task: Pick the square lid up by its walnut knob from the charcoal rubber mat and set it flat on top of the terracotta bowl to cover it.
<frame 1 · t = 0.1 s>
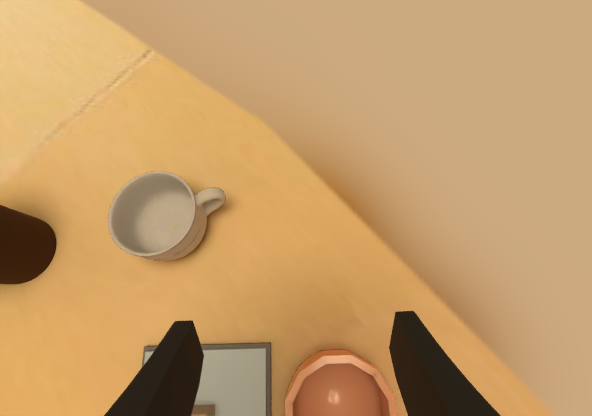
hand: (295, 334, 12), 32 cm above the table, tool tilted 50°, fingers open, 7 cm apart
teacup: (187, 224, 46), on the table
mat: (205, 415, 39), on the table
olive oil: (24, 250, 45), on the table
bowl: (336, 402, 39), on the table
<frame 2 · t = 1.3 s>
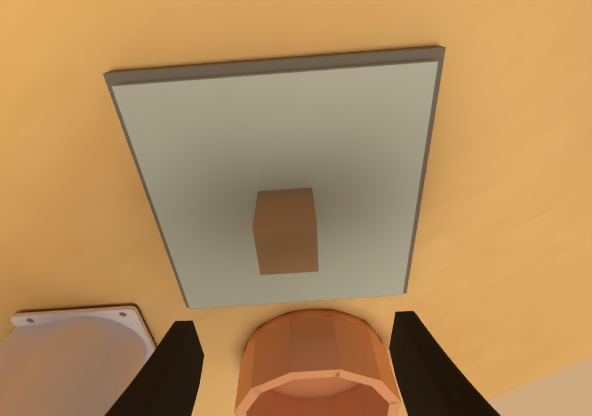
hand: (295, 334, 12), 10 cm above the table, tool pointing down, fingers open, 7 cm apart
mat: (287, 200, 20), on the table
lid: (287, 206, 19), point 1 cm above the table, touching mat
bowl: (313, 356, 28), on the table
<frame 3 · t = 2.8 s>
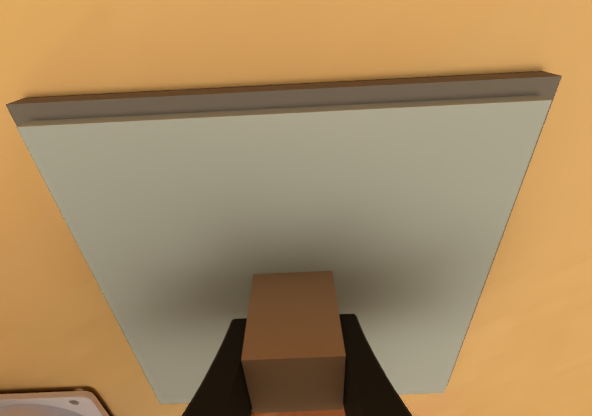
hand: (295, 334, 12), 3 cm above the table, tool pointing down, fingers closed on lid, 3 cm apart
mat: (294, 275, 14), on the table
lid: (294, 288, 13), point 1 cm above the table, touching gripper, mat
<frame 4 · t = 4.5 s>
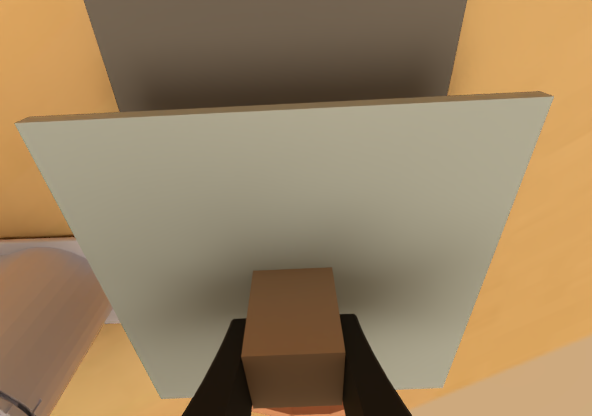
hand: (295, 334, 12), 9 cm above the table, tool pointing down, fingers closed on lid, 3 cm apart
mat: (282, 99, 16), on the table
lid: (294, 285, 13), point 7 cm above the table, touching gripper
bowl: (307, 311, 25), on the table
when the fingers open (8 cm above the table, at t = 6.3 s): lid stays where it is, resting on bowl.
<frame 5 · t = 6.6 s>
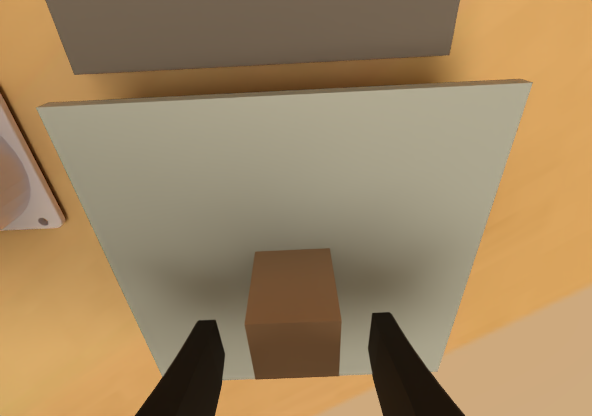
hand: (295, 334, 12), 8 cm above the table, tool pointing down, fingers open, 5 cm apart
lid: (294, 267, 14), point 5 cm above the table, touching bowl
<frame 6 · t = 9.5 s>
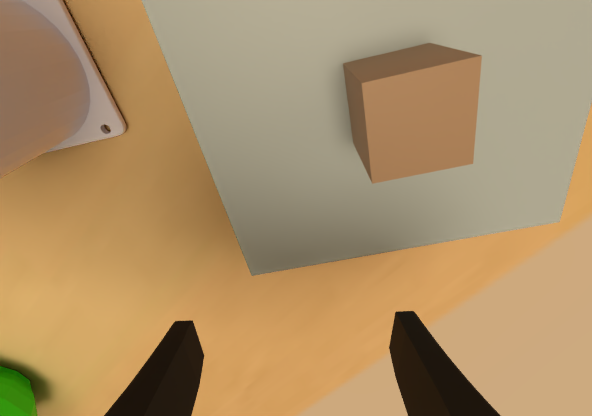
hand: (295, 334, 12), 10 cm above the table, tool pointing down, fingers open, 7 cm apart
lid: (384, 93, 12), point 5 cm above the table, touching bowl
plastic bottle: (3, 378, 31), on the table
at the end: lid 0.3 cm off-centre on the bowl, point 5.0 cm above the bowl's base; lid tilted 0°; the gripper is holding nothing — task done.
